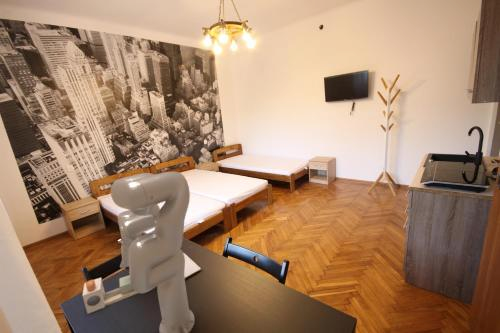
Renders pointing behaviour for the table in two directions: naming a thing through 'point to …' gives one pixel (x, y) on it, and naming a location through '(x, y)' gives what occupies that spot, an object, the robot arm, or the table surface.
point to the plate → (190, 266)
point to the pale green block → (116, 296)
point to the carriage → (125, 284)
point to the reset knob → (90, 285)
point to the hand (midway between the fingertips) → (139, 274)
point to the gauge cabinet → (94, 297)
